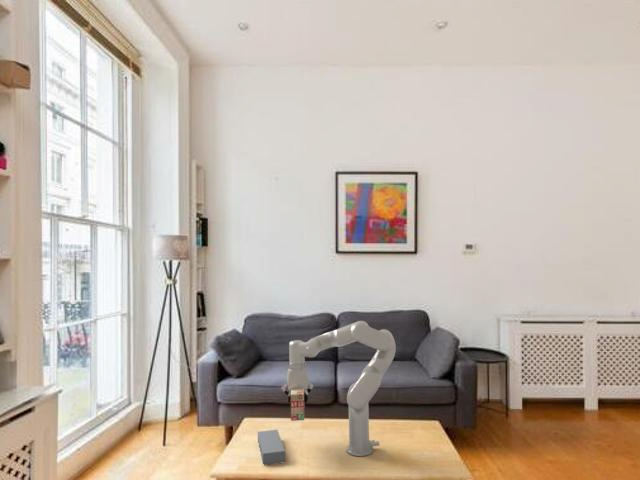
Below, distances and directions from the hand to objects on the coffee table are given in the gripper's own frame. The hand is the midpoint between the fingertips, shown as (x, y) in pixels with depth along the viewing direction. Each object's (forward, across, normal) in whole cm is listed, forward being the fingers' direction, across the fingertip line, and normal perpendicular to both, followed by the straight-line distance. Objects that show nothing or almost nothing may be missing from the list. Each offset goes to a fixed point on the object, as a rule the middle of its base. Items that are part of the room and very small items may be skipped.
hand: (297, 402), depth 210 cm
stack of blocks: (+5, 0, 0) cm, 5 cm away
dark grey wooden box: (+22, +14, 0) cm, 26 cm away
